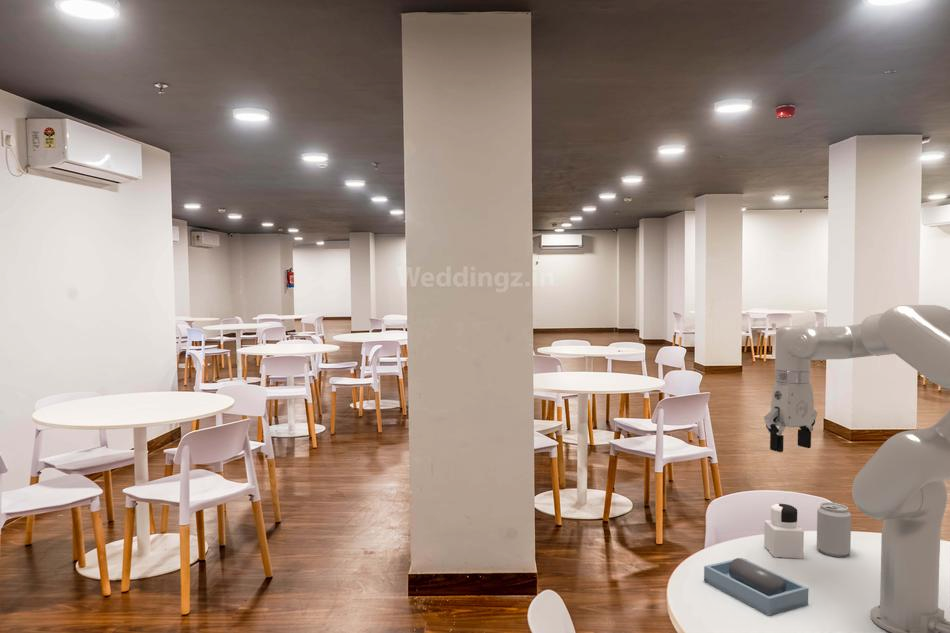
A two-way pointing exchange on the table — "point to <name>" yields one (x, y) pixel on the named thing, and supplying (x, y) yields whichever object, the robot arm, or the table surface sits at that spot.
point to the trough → (766, 604)
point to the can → (833, 529)
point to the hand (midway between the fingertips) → (790, 448)
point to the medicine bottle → (784, 532)
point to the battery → (756, 577)
